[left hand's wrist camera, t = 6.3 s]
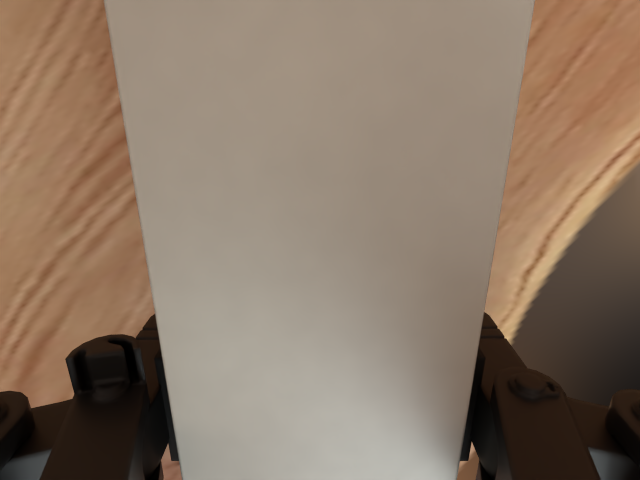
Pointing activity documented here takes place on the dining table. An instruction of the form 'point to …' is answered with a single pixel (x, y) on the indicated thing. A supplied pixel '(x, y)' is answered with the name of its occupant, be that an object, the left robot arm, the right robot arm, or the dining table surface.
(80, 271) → the dining table surface
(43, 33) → the dining table surface
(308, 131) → the bar
